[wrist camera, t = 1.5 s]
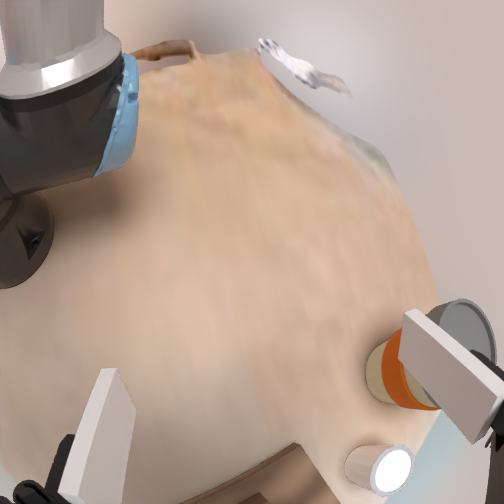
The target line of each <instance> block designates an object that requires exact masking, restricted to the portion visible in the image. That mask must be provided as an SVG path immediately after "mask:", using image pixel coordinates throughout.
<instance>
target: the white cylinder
mask: <svg viewBox="0 0 504 504" xmlns="http://www.w3.org/2000/svg"><path fill="white" fill-rule="evenodd" d="M414 466H415V461H414V455H413V453H412V451H411V449H410V448H408V447H406V446H405V445H363V446H360V447H358V448H356V449H355V450H354V451H352V452H351V453H350V454H349V456H348V458H347V459H346V462H345V466H344V470H345V475H346V477H347V478H348V479H349V480H350V481H352V482H354V483H356V484H358V485H359V486H361V487H363V488H365V489H367V490H369V491H371V492H373V493H375V494H377V495H380V496H382V497H386V496H392V495H394V494H396V493H398V492H399V491H401V489H403V488H404V487H405V486H406V484H407V483H408V482H409V480H410V478H411V476H412V474H413V470H414Z"/></svg>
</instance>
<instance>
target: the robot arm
mask: <svg viewBox="0 0 504 504" xmlns="http://www.w3.org/2000/svg"><path fill="white" fill-rule="evenodd" d="M0 26H1V31H2V38H3V44H4V49H5V54H6V63H5V64H4V66H3V68H2V70H1V72H0V288H9V287H13V286H16V285H18V284H20V283H22V282H23V281H25V280H26V279H27V278H29V277H30V276H31V275H32V274H33V273H34V272H35V271H36V270H37V269H38V268H39V266H40V265H41V264H42V262H43V261H44V259H45V257H46V255H47V253H48V251H49V249H50V246H51V243H52V239H53V233H54V220H53V215H52V212H51V210H50V208H49V206H48V204H47V202H46V200H45V199H44V197H43V196H42V195H41V194H40V193H39V192H38V191H40V190H44V189H47V188H51V187H54V186H58V185H62V184H65V183H69V182H73V181H77V180H81V179H85V178H89V177H91V178H93V177H96V176H98V175H99V174H101V173H104V172H107V171H111V170H114V169H117V168H120V167H122V166H124V165H125V164H126V163H127V162H128V161H129V160H130V158H131V156H132V154H133V151H134V147H135V142H136V135H137V125H138V101H137V98H138V90H139V75H138V66H137V62H136V58H135V57H134V56H132V55H127V54H126V53H124V54H123V53H122V54H121V41H120V40H119V38H118V37H116V36H115V35H113V34H112V33H110V32H109V31H107V30H106V29H104V0H0ZM398 359H399V360H400V362H401V363H402V364H403V365H404V366H405V367H406V368H407V369H408V371H409V372H410V373H411V374H412V375H413V376H414V377H415V378H416V380H417V381H418V382H419V383H420V384H421V385H422V386H423V388H424V389H425V390H426V391H427V392H428V393H429V395H430V396H431V397H432V398H433V399H434V400H435V401H436V403H437V404H438V405H439V406H440V407H441V408H442V410H443V411H444V412H445V413H446V414H447V415H448V417H449V418H450V419H451V420H452V421H453V423H454V424H455V425H456V426H457V427H458V429H459V430H460V431H461V432H462V433H463V435H464V436H465V437H466V438H467V439H468V441H469V442H470V443H471V444H474V443H475V442H477V441H478V440H480V439H481V438H482V437H484V436H485V435H486V433H487V431H488V429H489V428H490V426H491V427H492V429H493V430H494V431H493V432H492V434H491V436H490V437H489V439H488V441H487V442H486V444H485V448H486V447H487V446H488V445H489V443H490V442H491V446H490V448H491V457H490V469H489V479H488V487H487V495H486V501H485V504H504V371H502V370H501V369H500V368H499V367H498V366H496V364H494V363H493V362H492V361H490V359H488V358H487V357H486V356H485V355H484V354H482V353H480V352H478V351H475V350H473V349H472V350H470V351H468V350H467V349H466V348H464V347H463V346H462V345H461V344H460V343H458V342H457V341H456V340H455V339H454V338H452V337H451V336H450V335H449V334H447V333H446V332H445V331H444V330H443V329H441V328H440V327H439V326H438V325H436V324H435V323H434V322H433V321H431V320H430V319H429V318H428V317H426V316H425V315H424V314H423V313H421V312H420V311H419V310H418V309H414V310H411V311H407V312H404V317H403V325H402V333H401V340H400V347H399V354H398ZM136 415H137V410H136V408H135V406H134V404H133V402H132V400H131V398H130V396H129V394H128V391H127V389H126V387H125V385H124V383H123V381H122V379H121V377H120V374H119V372H118V370H117V368H105V369H101V371H100V373H99V376H98V378H97V381H96V383H95V386H94V388H93V391H92V393H91V396H90V398H89V401H88V403H87V406H86V408H85V411H84V414H83V416H82V419H81V422H80V425H79V427H78V430H77V433H76V435H72V434H67V435H66V437H65V438H64V439H63V440H62V441H61V442H60V445H59V447H58V450H57V455H56V456H55V458H54V463H53V464H52V467H51V470H50V473H49V476H48V479H47V482H46V485H45V488H43V487H42V486H41V485H40V484H39V483H37V482H35V481H33V480H25V481H22V482H20V483H19V484H17V486H16V487H15V489H14V492H13V501H14V502H15V503H12V502H11V501H9V500H8V499H7V498H5V497H4V496H0V504H122V496H123V489H124V482H125V476H126V469H127V463H128V457H129V452H130V446H131V440H132V435H133V430H134V425H135V420H136Z"/></svg>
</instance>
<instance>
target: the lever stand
mask: <svg viewBox="0 0 504 504" xmlns="http://www.w3.org/2000/svg"><path fill="white" fill-rule="evenodd" d="M181 504H341V503H340V502H339V500H338V499H337V498H336V496H335V495H334V493H333V492H332V491H331V489H330V488H329V486H328V485H327V483H326V482H325V481H324V479H323V478H322V476H321V475H320V473H319V472H318V470H317V469H316V467H315V466H314V464H313V463H312V461H311V460H310V458H309V457H308V455H307V454H306V452H305V451H304V449H303V448H302V446H301V445H299V444H296V443H293V444H292V445H290V446H289V447H287V448H286V449H284V450H282V451H281V452H279V453H278V454H276V455H274V456H273V457H271V458H270V459H268V460H266V461H265V462H263V463H261V464H259V465H258V466H256V467H254V468H253V469H251V470H249V471H247V472H245V473H244V474H242V475H240V476H238V477H236V478H234V479H232V480H231V481H229V482H227V483H225V484H223V485H221V486H219V487H217V488H215V489H213V490H210V491H208V492H206V493H204V494H202V495H200V496H198V497H195V498H193V499H191V500H188V501H186V502H184V503H181Z"/></svg>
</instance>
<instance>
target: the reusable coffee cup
mask: <svg viewBox="0 0 504 504" xmlns="http://www.w3.org/2000/svg"><path fill="white" fill-rule="evenodd" d="M425 316H426V317H428V318H429V319H430V320H431V321H433V322H434V323H435V324H436V325H438V326H439V327H440V328H441V329H443V330H444V331H445V332H446V333H447V334H449V335H450V336H451V337H452V338H454V339H455V340H456V341H457V342H458V343H460V344H461V345H462V346H463V347H464V348H466V349H467V350H468V351H470V350H472V349H473V350H475V351H478V352H480V353H482V354H484V355H485V356H486V357H487V358H488V359H490V361H492V362H493V363H494V364H496V362H497V350H496V342H495V338H494V334H493V331H492V328H491V325H490V323H489V321H488V319H487V317H486V315H485V314H484V312H483V311H482V310H481V309H480V308H479V307H478V306H477V305H476V304H475V303H473V302H472V301H470V300H467V299H458V300H455V301H452V302H449V303H446V304H443V305H439V306H436V307H435V308H434V309H432V310H431V311H430V312H429V313H428V314H426V315H425ZM401 333H402V329H400V330H399V331H397V332H395V333H394V335H393V336H392V337H391V338H390V339H389V340H388V341H386V342H384V343H383V344H381V345H379V346H378V347H376V348H375V349H374V350H373V351H372V353H371V354H370V356H369V358H368V360H367V364H366V371H365V375H366V382H367V386H368V388H369V390H370V392H371V393H372V395H373V396H374V397H375V398H376V399H378V400H380V401H382V402H386V403H394V404H398V405H400V406H401V407H405V408H410V409H419V410H438V409H442V408H441V407H440V406H439V405H438V404H437V403H436V401H435V400H434V399H433V398H432V397H431V396H430V395H429V393H428V392H427V391H426V390H425V389H424V388H423V386H422V385H421V384H420V383H419V382H418V381H417V380H416V378H415V377H414V376H413V375H412V374H411V373H410V372H409V371H408V369H407V368H406V367H405V366H404V365H403V364H402V363H401V362H400V360H399V359H398V354H399V347H400V340H401Z"/></svg>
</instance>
